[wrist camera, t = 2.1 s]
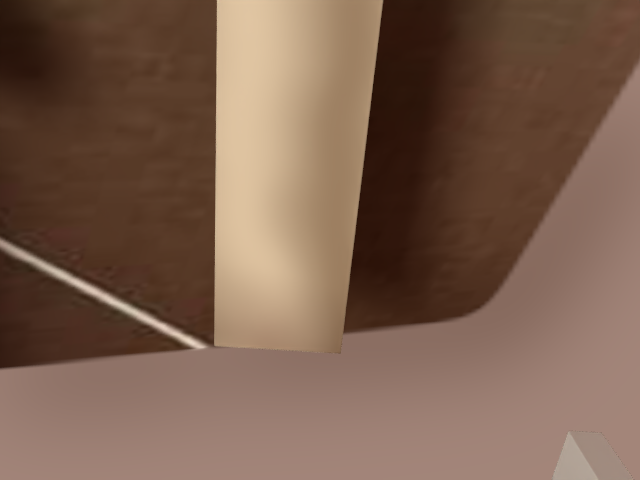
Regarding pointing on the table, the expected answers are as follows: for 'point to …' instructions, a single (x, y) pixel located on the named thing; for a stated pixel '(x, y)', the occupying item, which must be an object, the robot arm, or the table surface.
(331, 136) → the beige and orange block
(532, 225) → the table surface
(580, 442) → the robot arm
